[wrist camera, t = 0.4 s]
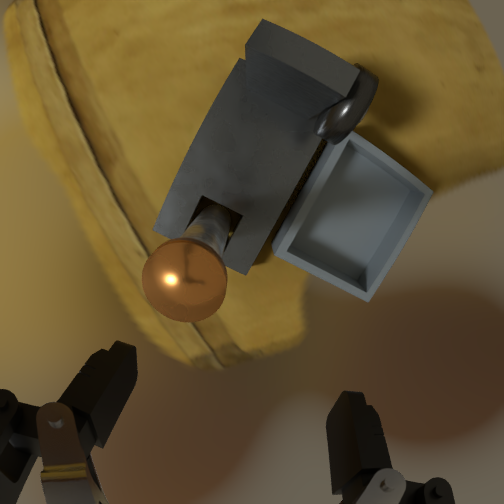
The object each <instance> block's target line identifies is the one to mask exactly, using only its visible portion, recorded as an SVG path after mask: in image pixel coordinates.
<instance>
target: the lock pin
mask: <svg viewBox="0 0 504 504" xmlns="http://www.w3.org/2000/svg"><path fill="white" fill-rule="evenodd" d="M230 225H231V216H230V214H229V212H228V211H227V210H226V209H225V208H224V207H222V206H220V205H209V206H207V207H205V208H204V209H203V210H202V211H201V213H200V214H199V215H198V216H197V217H196V219H195V220H194V221H193V222H192V223H191V225H190V226H189V227H188V228H187V229H186V231H185V232H184V233H183V234H182V236H181V237H180V238H175V239H171V240H169V241H166V242H165V243H163V244H162V245H160V246H159V247H158V248H157V249H156V250H155V251H154V252H153V253H152V255H151V256H150V257H149V258H148V260H147V261H146V263H145V265H144V268H143V272H142V285H143V289H144V292H145V295H146V297H147V299H148V300H149V302H150V303H151V305H152V306H153V307H154V308H155V309H156V310H157V311H158V312H160V313H161V314H163V315H164V316H166V317H168V318H170V319H173V320H176V321H180V322H196V321H201V320H204V319H206V318H208V317H210V316H211V315H213V314H214V313H215V312H216V311H217V310H218V309H219V308H220V306H221V304H222V303H223V300H224V298H225V294H226V288H227V270H226V267H225V264H224V262H223V260H222V256H223V252H224V249H225V245H226V241H227V237H228V233H229V229H230Z"/></svg>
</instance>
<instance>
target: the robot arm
mask: <svg viewBox="0 0 504 504" xmlns="http://www.w3.org/2000/svg"><path fill="white" fill-rule="evenodd" d="M137 375H138V370H137V354H136V347H135V346H133V345H130V344H126V343H123V342H121V341H116V342H115V343H114V344H113V345H112V347H111V348H110V349H109V351H107V350H105V349H101V350H99V351H97V352H96V353H94V354H92V355H91V356H90V358H89V359H88V360H87V362H86V363H85V365H84V366H83V367H82V368H81V370H80V371H79V373H78V374H77V375H76V376H75V378H74V379H73V381H72V382H71V383H70V385H69V386H68V387H67V389H66V390H65V392H64V393H63V394H62V396H61V397H60V399H59V400H58V401H57V402H49V403H46V404H44V405H43V406H41V407H38V406H33V405H29V404H25V403H21V402H18V400H17V398H16V396H15V395H14V394H13V393H12V392H11V391H9V390H6V389H0V504H16V502H17V500H18V498H19V495H20V493H21V491H22V489H23V486H24V484H25V482H26V480H27V478H28V476H29V474H30V471H31V469H32V467H33V465H34V463H35V461H36V459H37V457H38V456H39V457H42V462H43V471H41V474H40V477H41V483H42V488H43V492H44V495H45V499H46V503H47V504H109V503H108V501H107V499H106V497H105V495H104V492H103V490H102V487H101V484H100V481H99V479H98V475H97V472H96V469H95V466H94V463H93V460H92V456H91V453H90V452H91V450H92V448H93V446H94V445H96V446H98V447H100V448H104V446H105V444H106V442H107V439H108V438H109V436H110V434H111V432H112V429H113V428H114V426H115V424H116V421H117V420H118V418H119V416H120V414H121V412H122V410H123V408H124V406H125V404H126V402H127V400H128V398H129V396H130V394H131V393H132V391H133V389H134V386H135V384H136V381H137ZM381 426H382V425H381V421H380V418H379V415H378V413H377V412H376V411H375V409H374V408H373V406H372V405H366V400H365V397H364V394H363V393H362V392H353V391H343V392H342V393H341V395H340V396H339V398H338V400H337V401H336V403H335V405H334V406H333V408H332V409H331V411H330V413H329V414H328V417H327V421H326V432H327V441H328V451H329V462H330V473H331V485H332V494H333V495H338V494H342V497H343V500H342V501H341V502H340V503H339V504H455V501H454V496H453V492H452V488H451V486H450V484H449V483H448V482H447V481H446V480H445V479H443V478H439V477H437V478H432V479H430V480H429V481H428V482H426V483H425V484H423V483H416V482H411V481H407V480H405V478H404V477H403V475H402V474H401V473H400V472H398V471H397V470H394V469H393V468H392V465H391V461H390V456H389V452H388V448H387V444H386V440H385V437H384V436H383V435H384V433H383V429H382V428H381Z"/></svg>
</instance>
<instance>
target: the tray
mask: <svg viewBox="0 0 504 504" xmlns="http://www.w3.org/2000/svg"><path fill="white" fill-rule="evenodd" d="M432 194H433V191H432V190H431V189H430V188H429V187H427V186H426V185H425V184H424V183H423V182H421V181H420V180H419V179H418V178H416V177H415V176H414V175H413V174H412V173H410V172H409V171H408V170H406V169H405V168H404V167H403V166H401V165H400V164H399V163H397V162H396V161H395V160H393V159H392V158H391V157H389V156H388V155H387V154H385V153H384V152H383V151H381V150H380V149H378V148H377V147H376V146H374V145H373V144H371V143H370V142H368V141H367V140H365V139H364V138H362V137H361V136H360V135H358V134H357V133H355V132H353V131H352V132H351V133H350V134H349V135H348V136H347V137H346V138H345V139H344V140H343V141H342V142H340V143H339V144H337V145H332V144H330V143H329V142H327V144H326V146H325V147H324V149H323V151H322V153H321V155H320V156H319V158H318V160H317V162H316V164H315V166H314V167H313V169H312V171H311V173H310V175H309V176H308V178H307V180H306V182H305V184H304V186H303V187H302V189H301V191H300V193H299V195H298V196H297V198H296V200H295V202H294V204H293V205H292V207H291V209H290V211H289V212H288V214H287V216H286V218H285V220H284V221H283V223H282V225H281V227H280V229H279V230H278V232H277V234H276V236H275V237H274V239H273V241H272V243H271V244H272V248H273V252H274V255H275V256H277V257H279V258H281V259H283V260H285V261H287V262H289V263H291V264H293V265H295V266H297V267H299V268H301V269H303V270H305V271H307V272H309V273H311V274H313V275H315V276H317V277H319V278H321V279H323V280H325V281H327V282H329V283H331V284H333V285H335V286H337V287H339V288H341V289H343V290H345V291H347V292H349V293H351V294H353V295H355V296H357V297H359V298H361V299H363V300H365V301H367V302H369V300H370V299H371V297H372V296H373V294H374V293H375V291H376V290H377V288H378V287H379V285H380V284H381V282H382V281H383V279H384V278H385V276H386V275H387V273H388V271H389V270H390V268H391V267H392V265H393V263H394V262H395V260H396V258H397V257H398V255H399V254H400V252H401V250H402V248H403V247H404V245H405V243H406V242H407V240H408V238H409V237H410V235H411V233H412V231H413V230H414V228H415V226H416V224H417V222H418V221H419V218H420V217H421V215H422V213H423V211H424V209H425V207H426V206H427V204H428V202H429V200H430V198H431V196H432Z"/></svg>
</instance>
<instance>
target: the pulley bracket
mask: <svg viewBox="0 0 504 504" xmlns="http://www.w3.org/2000/svg"><path fill="white" fill-rule="evenodd" d="M245 56H246V60H243V59H241V58H239V60H238V62H237V63H236V65H235V66H234V68H233V70H232V71H231V73H230V75H229V76H228V78H227V80H226V81H225V83H224V85H223V87H222V88H221V90H220V92H219V94H218V95H217V97H216V99H215V101H214V102H213V104H212V106H211V108H210V110H209V112H208V113H207V115H206V117H205V119H204V121H203V123H202V125H201V127H200V128H199V130H198V132H197V134H196V136H195V138H194V140H193V142H192V144H191V146H190V148H189V150H188V152H187V154H186V156H185V158H184V160H183V162H182V164H181V167H180V169H179V171H178V173H177V175H176V177H175V179H174V182H173V184H172V186H171V188H170V190H169V193H168V195H167V197H166V199H165V202H164V204H163V206H162V209H161V211H160V213H159V216H158V218H157V220H156V223H155V225H154V228H153V230H154V231H156V232H158V233H160V234H162V235H164V236H166V237H168V238H170V239H175V238H180V237H181V236H182V234H183V233H184V232H185V231H186V229H187V228H188V227H189V225H190V223H191V220H192V218H193V216H194V214H195V212H196V210H197V208H198V206H199V204H200V201H201V199H202V197H203V196H205V197H207V198H209V199H211V200H213V201H215V202H217V203H219V204H221V205H223V206H225V207H227V208H229V209H231V210H233V211H235V212H237V213H239V214H241V215H242V216H241V218H240V220H239V221H238V223H237V225H236V227H235V229H234V231H233V233H232V235H231V237H230V239H229V241H228V243H227V245H226V246H225V249H224V252H223V256H222V260H223V262H224V264H225V266H227V267H229V268H231V269H233V270H235V271H237V272H239V273H241V274H244V275H247V273H248V271H249V270H250V268H251V266H252V264H253V262H254V261H255V259H256V257H257V255H258V253H259V252H260V250H261V248H262V246H263V244H264V243H265V241H266V239H267V237H268V235H269V234H270V232H271V230H272V228H273V226H274V225H275V223H276V221H277V219H278V217H279V216H280V214H281V212H282V210H283V208H284V207H285V205H286V203H287V201H288V199H289V198H290V196H291V194H292V192H293V190H294V189H295V187H296V185H297V183H298V181H299V180H300V178H301V176H302V174H303V172H304V170H305V169H306V167H307V165H308V163H309V161H310V160H311V158H312V156H313V154H314V152H315V150H316V149H317V147H318V145H319V143H320V141H321V140H322V139H324V140H326V141H327V142H329V143H330V144H332V145H337V144H339V143H340V142H342V141H343V140H344V139H345V138H346V137H347V136H348V135H349V134H350V133H351V132H352V131H353V129H354V128H355V127H356V125H357V124H358V123H360V121H361V120H362V119H363V118H364V116H365V114H366V113H367V111H368V108H369V106H370V104H371V102H372V100H373V98H374V95H375V93H376V90H377V87H378V81H379V79H378V77H377V76H376V75H375V74H373V73H372V72H370V71H369V70H367V69H366V68H364V67H363V66H361V65H360V64H358V63H356V64H354V65H351V64H350V63H348V62H346V61H345V60H343V59H341V58H340V57H338V56H336V55H335V54H333V53H331V52H329V51H328V50H326V49H324V48H322V47H320V46H319V45H317V44H315V43H313V42H311V41H309V40H307V39H305V38H303V37H301V36H299V35H297V34H295V33H293V32H291V31H289V30H287V29H285V28H282V27H280V26H278V25H276V24H274V23H271V22H269V21H267V20H264V19H262V20H261V22H260V23H259V25H258V26H257V28H256V29H255V31H254V32H253V34H252V35H251V37H250V38H249V40H248V41H247V43H246V44H245Z"/></svg>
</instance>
